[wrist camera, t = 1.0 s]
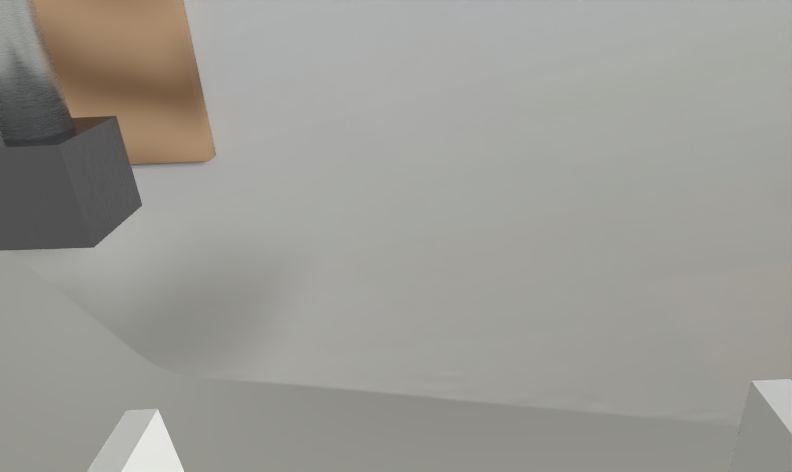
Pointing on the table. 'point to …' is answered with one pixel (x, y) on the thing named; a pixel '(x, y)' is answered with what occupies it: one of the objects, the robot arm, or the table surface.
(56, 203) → the shaft
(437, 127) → the table surface
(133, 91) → the walnut board
